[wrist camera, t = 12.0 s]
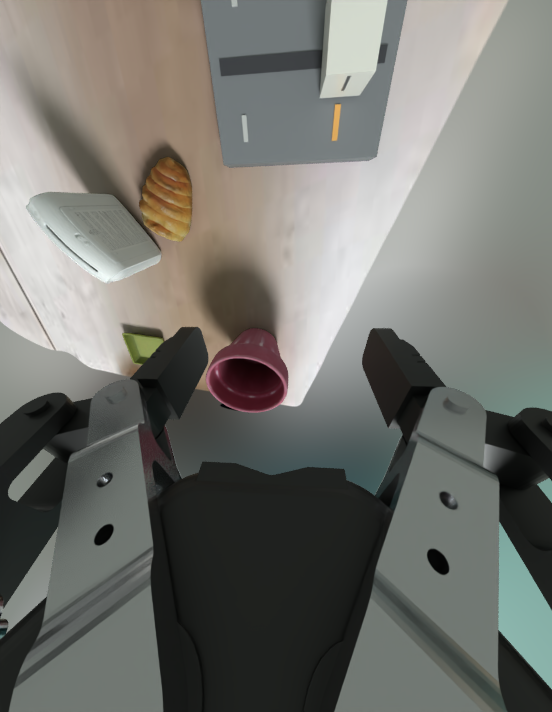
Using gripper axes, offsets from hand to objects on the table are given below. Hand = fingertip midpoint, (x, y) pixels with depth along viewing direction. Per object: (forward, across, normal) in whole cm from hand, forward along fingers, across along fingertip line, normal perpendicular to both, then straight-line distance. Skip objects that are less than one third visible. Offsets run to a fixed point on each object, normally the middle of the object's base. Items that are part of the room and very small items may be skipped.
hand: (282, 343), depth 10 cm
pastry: (+29, +18, -5) cm, 34 cm away
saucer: (+29, +32, +21) cm, 48 cm away
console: (+28, -1, -16) cm, 32 cm away
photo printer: (+28, +25, -2) cm, 38 cm away
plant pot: (+28, +7, +20) cm, 35 cm away
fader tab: (+25, -5, -16) cm, 30 cm away
